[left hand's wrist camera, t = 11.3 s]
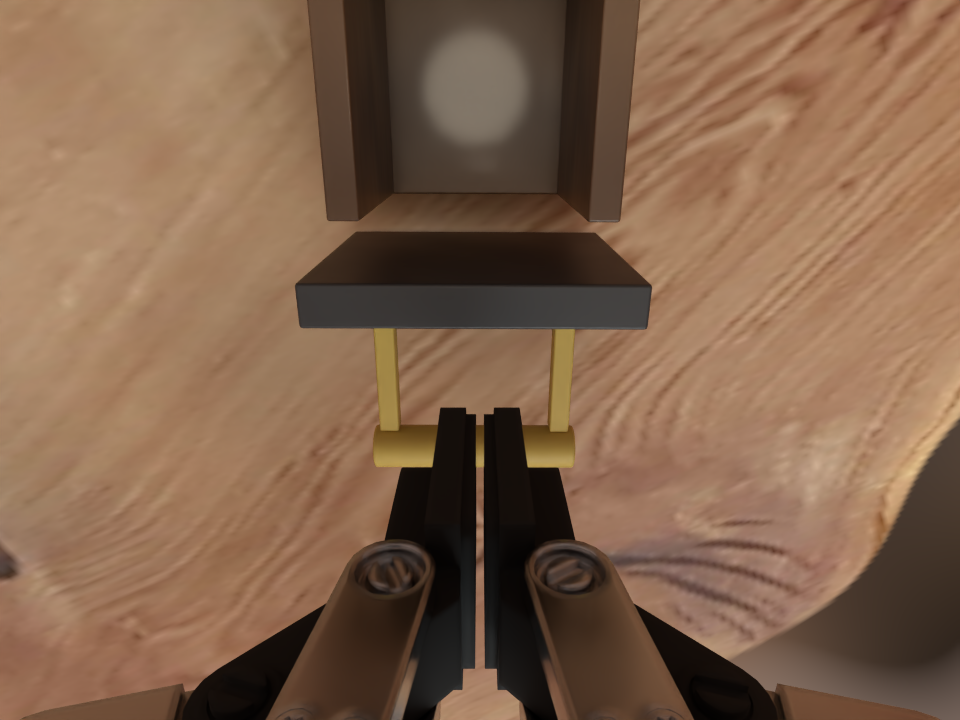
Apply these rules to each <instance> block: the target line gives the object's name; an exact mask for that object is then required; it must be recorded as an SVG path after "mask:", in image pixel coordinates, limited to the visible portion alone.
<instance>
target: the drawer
mask: <svg viewBox="0 0 960 720" xmlns="http://www.w3.org/2000/svg"><path fill="white" fill-rule="evenodd" d="M307 3H308V14H309V25H310V36H311V47H312V58H313V69H314V80H315V91H316V102H317V113H318V125H319V136H320V147H321V158H322V169H323V180H324V191H325V202H326V213H327V220H328V221H359V220H360V219H361V218H363V217H364V216H365V215H367V214H368V213H369V212H370V211H372V210H373V209H374V208H375V207H377V206H378V205H379V204H380V203H382V202H383V201H384V200H386V199H387V198H388V197H389V196H391V195H392V194H393V193H413V194H558V195H559V196H560V197H562V198H563V199H564V200H565V201H566V202H567V203H568V204H569V205H571V206H572V207H573V208H574V209H575V210H576V211H577V212H578V213H580V214H581V215H582V216H583V217H584V218H585V219H586V220H587V221H589V222H619V221H620V218H621V206H622V195H623V184H624V173H625V162H626V151H627V140H628V129H629V118H630V107H631V96H632V85H633V74H634V63H635V52H636V41H637V30H638V19H639V8H640V0H307ZM295 290H296V299H297V308H298V316H299V325H300V327H301V328H373V329H374V344H375V359H376V375H377V390H378V405H379V420H380V425H377V426H376V428H375V432H374V438H373V459H374V463H375V466H377V467H432V465H433V458H434V451H435V443H436V436H437V429H438V425H400V424H401V411H400V391H399V372H398V352H397V333H396V329H552V347H551V366H550V385H549V404H548V425H522V429H523V436H524V443H525V451H526V458H527V465H528V467H573V464H574V460H575V436H574V431H573V428H572V426H570V425H569V412H570V397H571V382H572V367H573V352H574V337H575V329H647V326H648V318H649V309H650V300H651V292H652V286H651V285H650V284H649V283H648V282H647V281H646V280H645V279H644V278H643V277H642V276H641V275H640V274H639V273H638V272H637V271H636V270H634V269H633V268H632V267H631V266H630V265H629V264H628V263H627V262H626V261H625V260H624V259H623V258H622V257H621V256H620V255H618V254H617V253H616V252H615V251H614V250H613V249H612V248H611V247H610V246H609V245H608V244H607V243H606V242H605V241H604V240H602V239H601V238H600V237H599V236H598V235H597V234H596V233H544V232H355V233H354V234H353V235H352V236H351V237H349V238H348V239H347V240H346V241H345V242H344V243H342V244H341V245H340V246H339V247H338V248H337V249H336V250H334V251H333V252H332V253H331V254H330V255H329V256H327V257H326V258H325V259H324V260H323V261H322V262H320V263H319V264H318V265H317V266H316V267H315V268H313V269H312V270H311V271H310V272H309V273H308V274H307V275H305V276H304V277H303V278H302V279H301V280H300V281H298V282H297V283H296V285H295ZM476 467H484V425H476Z"/></svg>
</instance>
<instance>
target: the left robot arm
mask: <svg viewBox="0 0 960 720" xmlns="http://www.w3.org/2000/svg"><path fill="white" fill-rule="evenodd" d="M475 614H476V414H466V408H440V415H439V422H438V429H437V436H436V443H435V451H434V458H433V465H432V467H403V468H402V469H401V472H400V476H399V480H398V484H397V489H396V493H395V498H394V502H393V506H392V511H391V515H390V519H389V524H388V528H387V532H386V537H385V541H380V542H376V543H373V544H371V545H369V546H366V547H364V548H363V549H361V550H360V551H359V552H357V553H356V554H355V555H354V556H353V557H352V558H351V559H350V561H349V562H348V563H347V565H346V567H345V569H344V571H343V573H342V575H341V577H340V578H339V580H338V582H337V584H336V586H335V588H334V590H333V592H332V594H331V596H330V598H329V600H328V601H327V603H326V604H325V605H323V606H321V607H320V608H318V609H316V610H315V611H313V612H311V613H310V614H308V615H306V616H305V617H303V618H301V619H300V620H298V621H297V622H295V623H293V624H292V625H290V626H288V627H287V628H285V629H283V630H282V631H280V632H278V633H277V634H275V635H273V636H272V637H270V638H268V639H267V640H265V641H264V642H262V643H260V644H259V645H257V646H255V647H254V648H252V649H250V650H249V651H247V652H245V653H244V654H242V655H240V656H239V657H237V658H235V659H234V660H232V661H231V662H229V663H227V664H226V665H224V666H222V667H221V668H219V669H217V670H216V671H215V672H213V673H212V674H211V675H209V676H208V677H207V678H205V679H204V680H203V681H202V682H201V683H200V684H199V686H198V687H197V688H196V689H195V690H193V691H188V692H185V691H184V687H183V684H178V685H173V686H168V687H163V688H158V689H152V690H147V691H142V692H137V693H132V694H127V695H122V696H117V697H111V698H106V699H101V700H96V701H91V702H86V703H81V704H76V705H71V706H65V707H60V708H55V709H50V710H45V711H42V712H39V713H36V714H33V715H30V716H26V717H24V718H22V719H20V720H440V712H441V700H442V699H443V698H444V697H446V696H447V695H448V694H449V693H450V692H451V691H453V690H462V686H463V669H475ZM484 614H485V669H497V686H498V690H507V691H509V692H510V693H511V694H512V695H513V696H514V697H516V698H517V699H518V700H519V712H520V720H940V719H938V718H936V717H933V716H930V715H927V714H924V713H921V712H918V711H915V710H910V709H905V708H900V707H894V706H889V705H884V704H879V703H874V702H869V701H864V700H859V699H854V698H849V697H843V696H838V695H833V694H828V693H823V692H818V691H812V690H807V689H802V688H797V687H792V686H787V685H782V684H777V687H776V691H775V692H772V691H767V690H765V689H764V688H763V687H762V686H761V684H760V683H759V682H758V681H757V680H756V679H754V678H753V677H752V676H751V675H749V674H748V673H747V672H745V671H744V670H743V669H741V668H739V667H738V666H736V665H734V664H733V663H731V662H729V661H728V660H726V659H725V658H723V657H721V656H720V655H718V654H716V653H715V652H713V651H711V650H710V649H708V648H706V647H705V646H703V645H701V644H700V643H698V642H696V641H695V640H693V639H692V638H690V637H688V636H687V635H685V634H683V633H682V632H680V631H678V630H677V629H675V628H673V627H672V626H670V625H668V624H667V623H665V622H663V621H662V620H660V619H659V618H657V617H655V616H654V615H652V614H650V613H649V612H647V611H645V610H644V609H642V608H640V607H639V606H637V605H635V604H634V603H633V601H632V600H631V598H630V596H629V594H628V592H627V590H626V588H625V586H624V584H623V582H622V580H621V578H620V577H619V575H618V573H617V571H616V569H615V567H614V565H613V563H612V562H611V561H610V559H609V558H608V557H607V556H606V555H605V554H604V553H603V552H601V551H600V550H599V549H597V548H596V547H594V546H591V545H589V544H587V543H584V542H580V541H575V537H574V532H573V528H572V524H571V519H570V515H569V511H568V506H567V502H566V498H565V493H564V489H563V484H562V480H561V476H560V472H559V469H558V468H557V467H528V465H527V458H526V451H525V443H524V436H523V429H522V422H521V415H520V408H494V414H484Z"/></svg>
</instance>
